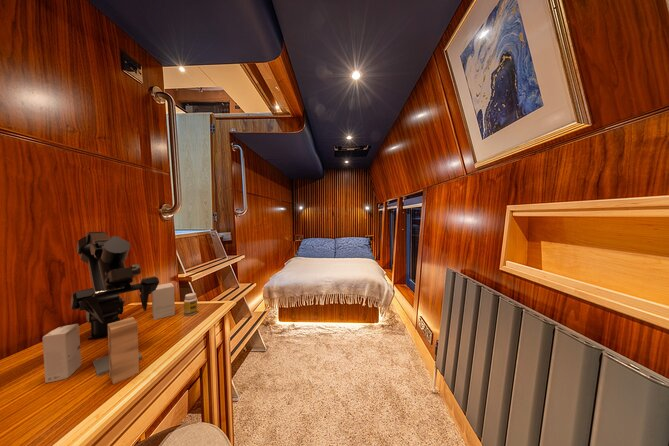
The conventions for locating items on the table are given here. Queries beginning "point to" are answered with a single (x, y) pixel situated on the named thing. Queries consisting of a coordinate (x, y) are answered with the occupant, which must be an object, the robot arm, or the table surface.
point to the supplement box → (163, 301)
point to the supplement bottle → (190, 304)
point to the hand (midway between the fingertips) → (125, 315)
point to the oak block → (123, 349)
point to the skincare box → (61, 352)
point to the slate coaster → (104, 364)
